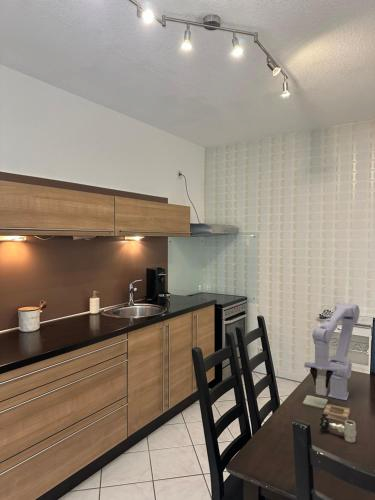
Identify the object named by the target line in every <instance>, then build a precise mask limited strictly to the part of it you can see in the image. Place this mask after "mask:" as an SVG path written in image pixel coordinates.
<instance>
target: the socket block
mask: <svg viewBox="0 0 375 500" xmlns="http://www.w3.org/2000/svg"><path fill="white" fill-rule="evenodd" d="M323 413H324V414H327V415H328V417H327V416H326V418H329V420H331V419H332V420H335V421H338V422H342V423H345V420H349V418H350V413H351V409H350V408H348V407H343V406H338V405H334V404H330V403H326V406H325V408H324V410H323V412H322V414H323Z"/></svg>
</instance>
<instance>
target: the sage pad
mask: <svg viewBox="0 0 375 500" xmlns="http://www.w3.org/2000/svg"><path fill="white" fill-rule="evenodd" d="M328 402H329V401H328V399H326V398H322V397H317V396H313V395H308V394H307V395H306V396H305V398H304V400H303V401H302V404H304V405H307V406H311V407H315V408H319V409H325V407H326V405H327V404H328Z"/></svg>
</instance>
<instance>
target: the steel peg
mask: <svg viewBox="0 0 375 500" xmlns="http://www.w3.org/2000/svg"><path fill="white" fill-rule="evenodd" d="M315 394H316V395H319V396H327V394H328V388H326V375H325V376H324V375H318V374H317V377H316V386H315Z"/></svg>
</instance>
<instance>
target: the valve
mask: <svg viewBox="0 0 375 500" xmlns="http://www.w3.org/2000/svg"><path fill="white" fill-rule="evenodd" d="M326 416H327V417H328V415H327V414H324V413H323V412H322V417H320V422H319V427H320V432H326V430H329V428H330V427H331V428H332V429H335V430H338V433H340V434H342V433H343V434H344V435H343V437H344V441H345V442H348V443H350V444H351V443H356V435H357V429H356V423H355V421H354V420H349V419H348V420H345V422H344V424H343V423H338V424H337V423H334V422H331V421H330V420H331V419H330V418H326Z"/></svg>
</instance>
